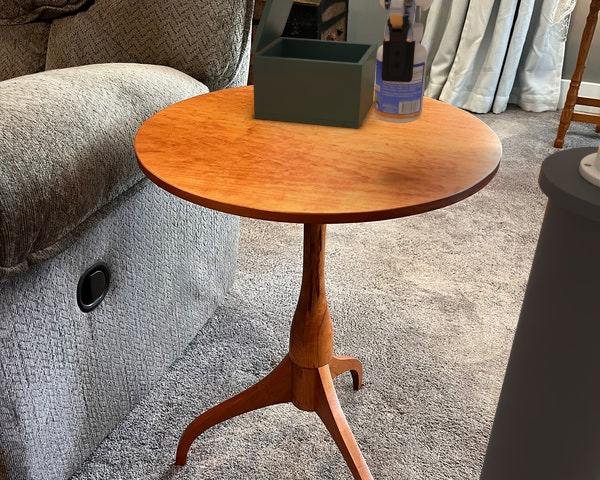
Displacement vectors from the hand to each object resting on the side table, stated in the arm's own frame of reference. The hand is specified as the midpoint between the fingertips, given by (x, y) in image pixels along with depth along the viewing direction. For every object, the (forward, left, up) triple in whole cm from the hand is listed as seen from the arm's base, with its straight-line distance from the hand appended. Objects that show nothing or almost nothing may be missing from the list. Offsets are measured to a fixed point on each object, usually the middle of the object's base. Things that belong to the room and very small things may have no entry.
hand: (400, 71), depth 70 cm
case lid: (+19, -24, +4) cm, 31 cm away
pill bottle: (0, 0, -5) cm, 5 cm away
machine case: (+15, -24, -12) cm, 31 cm away
